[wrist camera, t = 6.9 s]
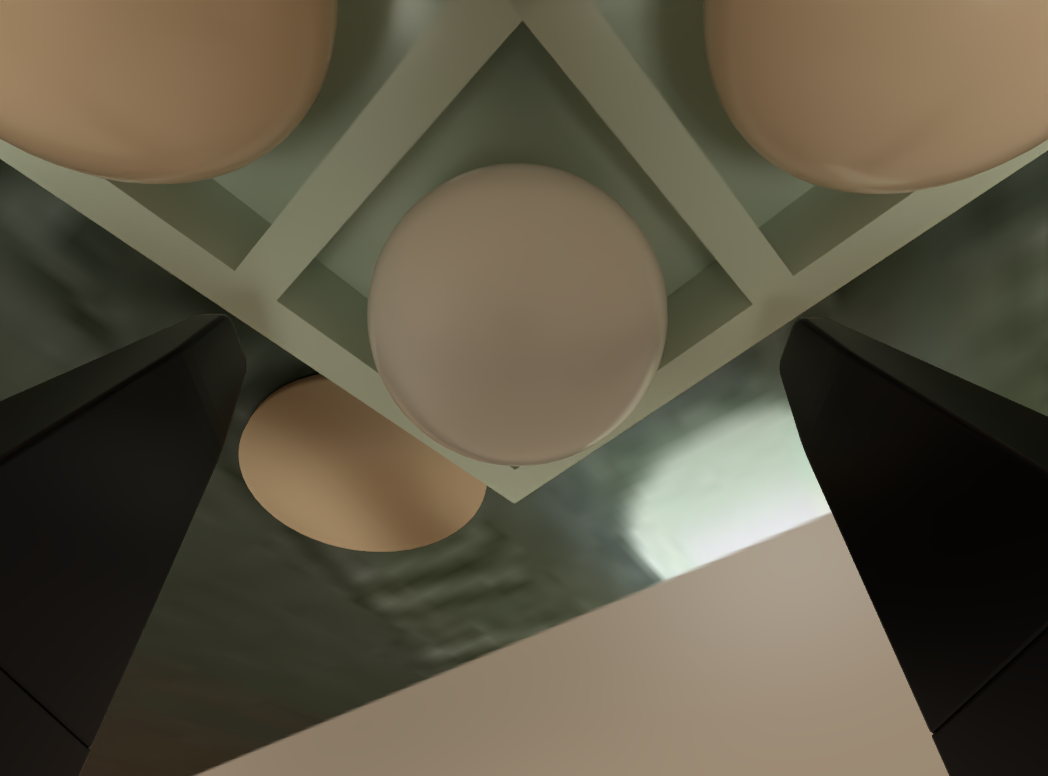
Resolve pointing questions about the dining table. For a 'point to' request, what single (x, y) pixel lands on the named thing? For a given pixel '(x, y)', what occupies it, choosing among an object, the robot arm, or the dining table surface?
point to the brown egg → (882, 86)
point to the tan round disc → (351, 472)
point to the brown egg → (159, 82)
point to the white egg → (517, 314)
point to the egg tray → (500, 138)
